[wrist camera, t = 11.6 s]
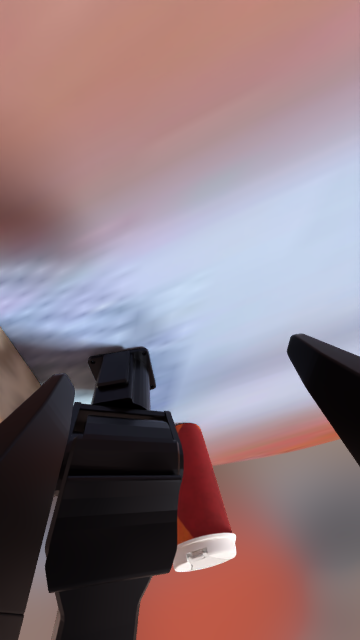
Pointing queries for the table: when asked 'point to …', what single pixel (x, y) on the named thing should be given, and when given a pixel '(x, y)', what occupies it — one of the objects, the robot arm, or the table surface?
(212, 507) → the paper cup
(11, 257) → the table surface
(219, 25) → the table surface
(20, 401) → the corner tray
